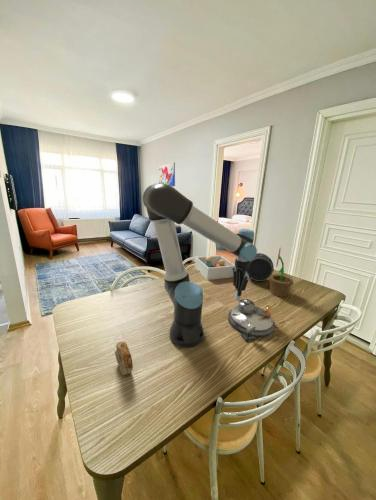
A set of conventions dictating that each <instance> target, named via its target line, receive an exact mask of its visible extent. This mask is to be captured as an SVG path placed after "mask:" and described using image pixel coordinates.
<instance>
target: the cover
mask: <svg viewBox="0 0 376 500" xmlns="http://www.w3.org/2000/svg"><path fill="white" fill-rule="evenodd" d="M237 306H238V311H239V312H241V313H243V314H246V315H251V314H253V313H254V307H255V306H256V304H255V302H254V301H252V300H250V299H249V298H248V299H247V298H243V299H241V298H240V300H238V305H237Z"/></svg>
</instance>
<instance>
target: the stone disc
mask: <svg viewBox="0 0 376 500" xmlns="http://www.w3.org/2000/svg"><path fill="white" fill-rule="evenodd" d="M115 346H116V347H115V348H116V350H115V351H114V355H115V359H116V363H117V365H118V367H119V370H120V372H121V374H122V375H123V376H125V375H128V374H130V373H132V371H133V369H134V368H133V359H132V358H133V357H132V355H131V352H130V348H129V346H128V343H127V341H119V342H117V343H116V345H115Z"/></svg>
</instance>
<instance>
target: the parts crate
mask: <svg viewBox="0 0 376 500" xmlns="http://www.w3.org/2000/svg"><path fill="white" fill-rule="evenodd" d="M206 257H210V258H211V263H212V266H214V267H210V268H209V267H207V266H206V265H205V264H204V262H205V258H206ZM219 260H224V261H225V265H226V266H223V267H216V265H217V264H218V263H219ZM233 268H236V266H235V263H233V262H232V261H230V260H228V259H227V258H226V257H224V256H222V255H210V256H209V255H207V256H196V257H195V260H194V269H195V270H196V271H198V270H199V271H200V272H199V271H198V272H199V274H200V275H202V276H203V278H205V279H206V280H207V281H209V280H220V279H221V280H222V279H230V278H233Z"/></svg>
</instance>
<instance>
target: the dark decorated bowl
mask: <svg viewBox="0 0 376 500" xmlns="http://www.w3.org/2000/svg"><path fill="white" fill-rule="evenodd" d="M274 266H275V265H274V262H273V260H272V258H271V257H269V256H268V255H266V254H265V253H262V252H261V253H260V252H257V254H256V256H255V257H254V259H252V260H250V267H249V268H248V269H247V271H248V273H247V274H248V276H250V279H249V280H253V281H255V282H262V281H263V282H264V281H266V280H267V279H268V280H269V276H270V275H273V273H274V271H275V269H274Z"/></svg>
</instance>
